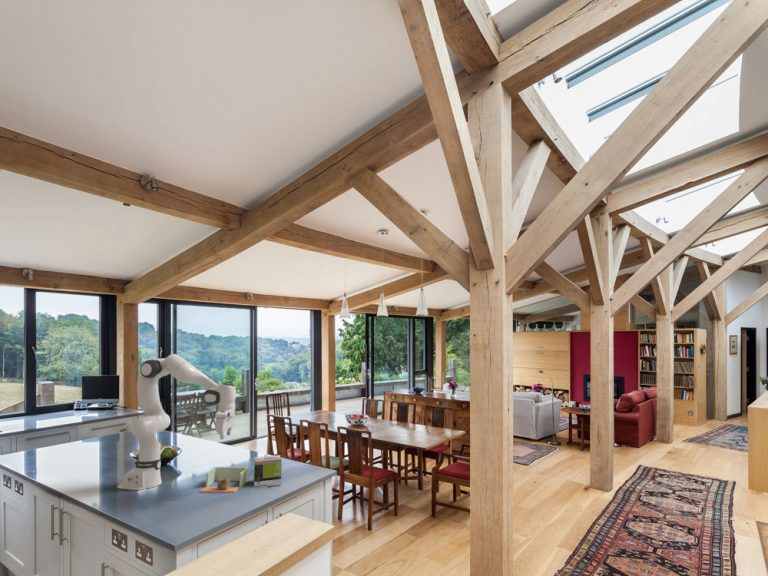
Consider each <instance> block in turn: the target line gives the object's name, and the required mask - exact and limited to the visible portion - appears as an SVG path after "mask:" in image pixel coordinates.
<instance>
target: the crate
mask: <svg viewBox="0 0 768 576" xmlns="http://www.w3.org/2000/svg"><path fill="white" fill-rule="evenodd" d="M249 468H250V467H248V466H244V467H243V466H214V467H213V468H211V469H210V470H209V471H207V472H206V474H205V475H206V476H205V487H210V486H211V485H212V484H213V483H215V482H216V481H217V482H218V480H219V479H220V478H230V482H231V481H233V482H237V481H239V485H238V487H239V488H242V487H243V486H244V485H245V484H246V483H247V482H248V481H249V473H250V472H249V471H250V469H249Z"/></svg>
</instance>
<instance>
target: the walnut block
mask: <svg viewBox="0 0 768 576" xmlns="http://www.w3.org/2000/svg"><path fill="white" fill-rule="evenodd" d="M216 485H217V486H216V487H217V490H227V489H228V488H230V487H231V481H230V478H220V479H219V480H218V481H217V484H216Z"/></svg>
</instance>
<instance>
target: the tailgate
mask: <svg viewBox="0 0 768 576" xmlns="http://www.w3.org/2000/svg"><path fill="white" fill-rule="evenodd" d="M239 489H240V487H239V486H230V488H228V489H227V490H217V486H208V487H206V486H205V487H204V488H202V489H200V490H199V493H202V494H203V493H204V494H205V493H206V494H209V493H212V494H213V493H215V494H217V493H219V494H222V493H223V494H235V493H236V492H237V491H238V490H239Z"/></svg>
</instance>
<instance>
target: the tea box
mask: <svg viewBox="0 0 768 576" xmlns="http://www.w3.org/2000/svg"><path fill="white" fill-rule="evenodd" d="M253 462H254V463H253V485H254V487H259V486H260V487H261V486H267V487H276V486H281V485H282V458H281V455H280V454H279V455H278V454H277V455H276V454H275V455H268V456H256V457H255V456H254V458H253Z"/></svg>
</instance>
